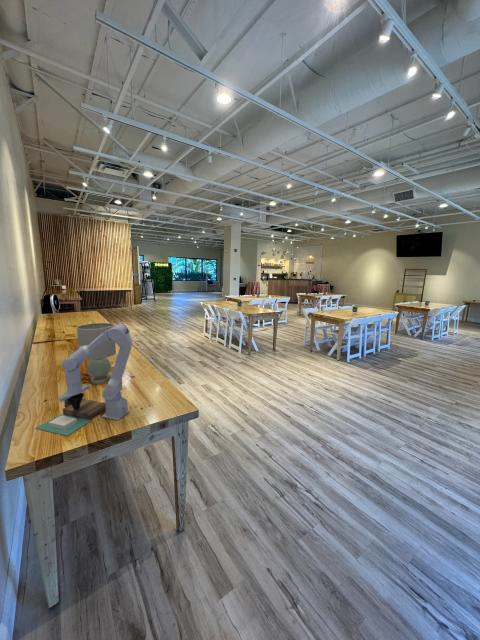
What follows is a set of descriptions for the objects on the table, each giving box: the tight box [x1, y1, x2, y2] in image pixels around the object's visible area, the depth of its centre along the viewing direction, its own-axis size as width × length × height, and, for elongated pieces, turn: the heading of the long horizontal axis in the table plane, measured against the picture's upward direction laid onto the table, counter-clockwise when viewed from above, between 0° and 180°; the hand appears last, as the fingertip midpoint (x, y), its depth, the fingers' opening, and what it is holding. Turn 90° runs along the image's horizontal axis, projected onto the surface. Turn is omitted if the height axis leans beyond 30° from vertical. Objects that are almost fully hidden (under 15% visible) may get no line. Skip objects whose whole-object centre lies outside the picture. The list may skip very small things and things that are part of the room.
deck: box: [62, 398, 106, 421], centre depth 130 cm, size 16×11×3 cm
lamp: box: [76, 322, 117, 385], centre depth 165 cm, size 20×20×35 cm
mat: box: [35, 414, 92, 437], centre depth 119 cm, size 18×12×1 cm, turn 74°
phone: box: [64, 399, 71, 408], centre depth 142 cm, size 8×1×15 cm
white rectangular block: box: [49, 415, 77, 430], centre depth 118 cm, size 9×6×2 cm, turn 73°
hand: (76, 409), depth 125 cm, fingers closed
